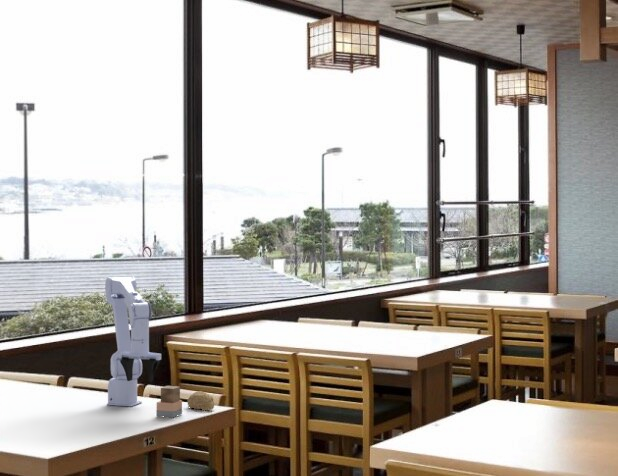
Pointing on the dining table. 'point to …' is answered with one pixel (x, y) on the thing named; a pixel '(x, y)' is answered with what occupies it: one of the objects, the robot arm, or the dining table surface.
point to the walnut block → (170, 394)
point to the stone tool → (201, 401)
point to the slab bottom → (168, 413)
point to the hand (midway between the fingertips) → (140, 381)
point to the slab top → (169, 406)
